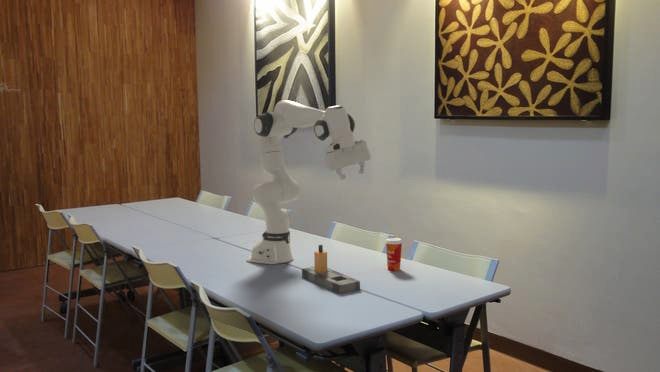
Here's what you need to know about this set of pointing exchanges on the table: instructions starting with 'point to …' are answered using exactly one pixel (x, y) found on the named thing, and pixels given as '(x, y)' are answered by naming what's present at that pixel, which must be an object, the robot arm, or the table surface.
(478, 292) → the table surface
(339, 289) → the grey socket board
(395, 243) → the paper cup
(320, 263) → the plug
